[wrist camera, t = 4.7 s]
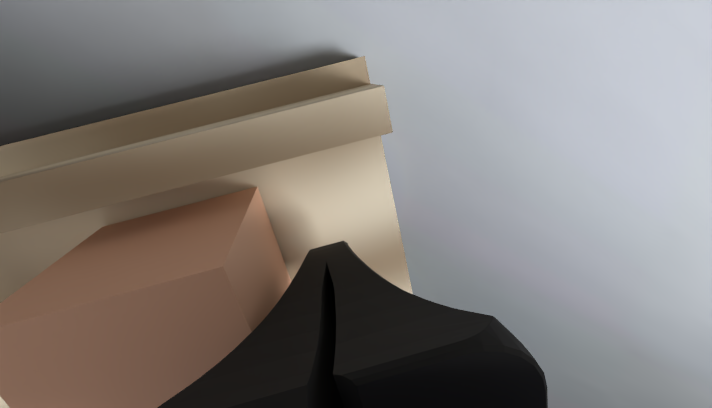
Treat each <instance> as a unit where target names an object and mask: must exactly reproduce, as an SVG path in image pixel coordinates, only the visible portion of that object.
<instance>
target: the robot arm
mask: <svg viewBox="0 0 712 408" xmlns="http://www.w3.org/2000/svg"><path fill="white" fill-rule="evenodd" d="M157 408H548V405H547V385H546V380H545V375H544V372H543V371H542V369H541V368H540V366H539V365H538V363H537V362H536V360H535V359H534V358H533V356H532V355H531V354H530V353H529V351H528V350H527V349H526V348H525V347H524V346H523V344H522V343H521V342H520V341H519V340H518V339H517V338H516V337H515V336H514V335H513V334H512V333H511V332H510V331H509V330H507V329H506V328H505V327H504V326H503V325H502V324H501V323H500V322H499V321H498V320H497V319H496V318H495V317H493V316H490V315H484V314H479V313H474V312H469V311H463V310H458V309H454V308H451V307H447V306H444V305H440V304H437V303H434V302H431V301H428V300H425V299H423V298H420V297H418V296H415V295H413V294H411V293H408V292H406V291H404V290H402V289H400V288H399V287H397V286H395V285H393V284H392V283H390V282H389V281H387V280H386V279H384V278H383V277H381V276H380V275H379V274H377V273H376V272H375V271H373V270H372V269H371V268H370V267H369V266H367V265H366V264H365V263H364V262H363V261H362V260H361V259H360V258H359V257H358V256H357V255H356V254H355V253H354V252H353V251H352V249H351V248H350V247H349V245H348V243H347V242H345V241H340V242H336V243H333V244H329V245H325V246H321V247H318V248H314V249H310V250H309V252H308V253H307V255H306V257H305V259H304V261H303V263H302V264H301V266H300V268H299V270H298V272H297V273H296V275H295V277H294V278H293V280H292V282H291V283H290V285H289V287H288V288H287V290H286V291H285V292H284V294H283V295H282V297H281V298H280V300H279V301H278V303H277V304H276V305H275V306H274V308H273V309H272V310H271V311H270V313H269V314H268V315H267V316H266V317H265V318H264V320H263V321H262V322H261V323H260V324H259V325H258V326H257V327H256V328H255V329H254V330H253V331H252V332H251V333H250V334H249V335H248V336H247V337H246V338H245V339H244V340H243V341H242V342H241V343H240V344H239V345H238V346H237V347H236V348H235V349H234V350H233V351H232V352H230V353H229V354H228V355H227V356H226V357H225V358H223V359H222V360H221V361H220V362H219V363H218V364H216V365H215V366H214V367H213V368H211V369H210V370H209V371H208V372H206V373H205V374H204V375H202V376H201V377H200V378H199V379H197V380H196V381H195V382H193V383H192V384H191V385H189V386H188V387H186V388H185V389H183V390H182V391H180V392H179V393H178V394H176V395H175V396H173V397H172V398H170V399H169V400H167V401H166V402H164V403H163V404H162V405H160V406H159V407H157Z"/></svg>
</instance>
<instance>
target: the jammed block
mask: <svg viewBox="0 0 712 408" xmlns="http://www.w3.org/2000/svg"><path fill="white" fill-rule="evenodd" d="M290 283H291V279H290V276H289V274H288V271H287V268H286V265H285V262H284V260H283V257H282V254H281V251H280V248H279V246H278V243H277V240H276V237H275V234H274V231H273V229H272V226H271V223H270V220H269V217H268V215H267V212H266V209H265V206H264V203H263V201H262V198H261V195H260V192H259V189H258V187H254V188H250V189H246V190H242V191H238V192H234V193H230V194H227V195H223V196H219V197H215V198H211V199H207V200H204V201H200V202H196V203H192V204H188V205H184V206H181V207H177V208H173V209H169V210H165V211H161V212H158V213H154V214H150V215H146V216H142V217H138V218H135V219H131V220H127V221H123V222H119V223H115V224H112V225H108V226H104V227H101V228H100V229H99V230H97V231H96V232H95V233H93V234H92V235H91V236H89V237H88V238H87V239H85V240H84V241H83V242H81V243H80V244H79V245H77V246H76V247H75V248H73V249H72V250H71V251H69V252H68V253H67V254H65V255H64V256H63V257H61V258H60V259H59V260H57V261H56V262H55V263H53V264H52V265H51V266H49V267H48V268H47V269H45V270H44V271H43V272H41V273H40V274H39V275H37V276H36V277H35V278H33V279H32V280H31V281H29V282H28V283H26V284H25V285H24V286H22V287H21V288H20V289H18V290H17V291H16V292H14V293H13V294H12V295H10V296H9V297H8V298H6V299H5V300H4V301H2V302H1V303H0V397H1V398H2V399H3V400H4V401H5V402H6V404H7V405H8V406H9V407H10V408H157V407H159V406H160V405H162V404H163V403H164V402H166V401H167V400H169V399H170V398H172V397H173V396H175V395H176V394H178V393H179V392H180V391H182V390H183V389H185V388H186V387H188V386H189V385H191V384H192V383H193V382H195V381H196V380H197V379H199V378H200V377H201V376H202V375H204V374H205V373H206V372H208V371H209V370H210V369H211V368H213V367H214V366H215V365H216V364H218V363H219V362H220V361H221V360H222V359H223V358H225V357H226V356H227V355H228V354H229V353H230V352H232V351H233V350H234V349H235V348H236V347H237V346H238V345H239V344H240V343H241V342H242V341H243V340H244V339H245V338H246V337H247V336H248V335H249V334H250V333H251V332H252V331H253V330H254V329H255V328H256V327H257V326H258V325H259V324H260V323H261V322H262V321H263V320H264V318H265V317H266V316H267V315H268V314H269V313H270V311H271V310H272V309H273V308H274V306H275V305H276V304H277V303H278V301H279V300H280V298H281V297H282V295H283V294H284V292H285V291H286V290H287V288H288V287H289V285H290Z"/></svg>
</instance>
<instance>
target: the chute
mask: <svg viewBox="0 0 712 408" xmlns="http://www.w3.org/2000/svg"><path fill="white" fill-rule="evenodd" d="M392 132H393V131H392V126H391V121H390V115H389V110H388V105H387V100H386V94H385V89H384V86H382V85H375V84H370V80H369V75H368V71H367V66H366V61H365V56H363V57H359V58H355V59H351V60H347V61H343V62H339V63H335V64H331V65H327V66H323V67H319V68H315V69H311V70H306V71H302V72H298V73H294V74H290V75H286V76H282V77H278V78H274V79H270V80H266V81H262V82H258V83H254V84H250V85H246V86H242V87H238V88H234V89H230V90H226V91H221V92H217V93H213V94H209V95H205V96H201V97H197V98H193V99H189V100H185V101H181V102H177V103H173V104H169V105H165V106H161V107H157V108H153V109H149V110H145V111H141V112H136V113H132V114H128V115H124V116H120V117H116V118H112V119H108V120H104V121H100V122H96V123H92V124H88V125H84V126H80V127H76V128H72V129H68V130H64V131H60V132H55V133H51V134H47V135H43V136H39V137H35V138H31V139H27V140H23V141H19V142H15V143H11V144H7V145H3V146H0V303H1V302H2V301H4V300H5V299H6V298H8V297H9V296H10V295H12V294H13V293H14V292H16V291H17V290H18V289H20V288H21V287H22V286H24V285H25V284H26V283H28V282H29V281H31V280H32V279H33V278H35V277H36V276H37V275H39V274H40V273H41V272H43V271H44V270H45V269H47V268H48V267H49V266H51V265H52V264H53V263H55V262H56V261H57V260H59V259H60V258H61V257H63V256H64V255H65V254H67V253H68V252H69V251H71V250H72V249H73V248H75V247H76V246H77V245H79V244H80V243H81V242H83V241H84V240H85V239H87V238H88V237H89V236H91V235H92V234H93V233H95V232H96V231H97V230H99V229H100V228H101V227H104V226H108V225H112V224H115V223H119V222H123V221H127V220H131V219H135V218H138V217H142V216H146V215H150V214H154V213H158V212H161V211H165V210H169V209H173V208H177V207H181V206H184V205H188V204H192V203H196V202H200V201H204V200H207V199H211V198H215V197H219V196H223V195H227V194H230V193H234V192H238V191H242V190H246V189H250V188H254V187H258V189H259V192H260V195H261V198H262V201H263V203H264V206H265V209H266V212H267V215H268V217H269V220H270V223H271V226H272V229H273V231H274V234H275V237H276V240H277V243H278V246H279V248H280V251H281V254H282V257H283V260H284V262H285V265H286V268H287V271H288V274H289V276H290V279H291V282H292V280H293V278H294V277H295V275H296V273H297V272H298V270H299V268H300V266H301V264H302V263H303V261H304V259H305V257H306V255H307V253H308V252H309V250H310V249H314V248H318V247H321V246H325V245H329V244H333V243H336V242H340V241H345V242H347V243H348V245H349V247H350V248H351V249H352V251H353V252H354V253H355V254H356V255H357V256H358V257H359V258H360V259H361V260H362V261H363V262H364V263H365V264H366V265H367V266H369V267H370V268H371V269H372V270H373V271H375V272H376V273H377V274H379V275H380V276H381V277H383V278H384V279H386V280H387V281H389V282H390V283H392V284H393V285H395V286H397V287H399V288H400V289H402V290H404V291H406V292H408V293H411V294H413V293H412V288H411V283H410V278H409V273H408V268H407V263H406V258H405V254H404V249H403V244H402V239H401V234H400V229H399V224H398V219H397V214H396V209H395V204H394V199H393V194H392V189H391V184H390V179H389V174H388V169H387V165H386V160H385V155H384V150H383V145H382V140H381V135H384V134H388V133H392ZM0 408H10V407H9V406H8V405H7V404H6V402H5V401H4V400H3V399H2V398H1V397H0Z"/></svg>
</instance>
